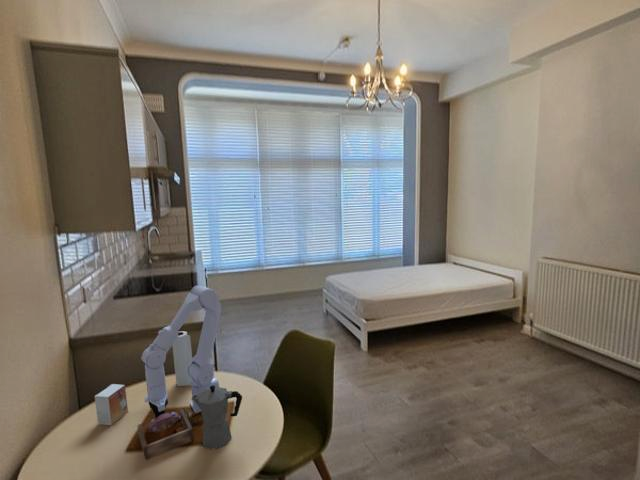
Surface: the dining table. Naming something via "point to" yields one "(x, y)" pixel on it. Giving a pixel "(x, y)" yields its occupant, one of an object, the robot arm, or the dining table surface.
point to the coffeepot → (216, 415)
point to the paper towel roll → (182, 358)
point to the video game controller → (162, 422)
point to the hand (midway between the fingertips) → (160, 420)
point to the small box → (111, 404)
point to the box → (167, 439)
